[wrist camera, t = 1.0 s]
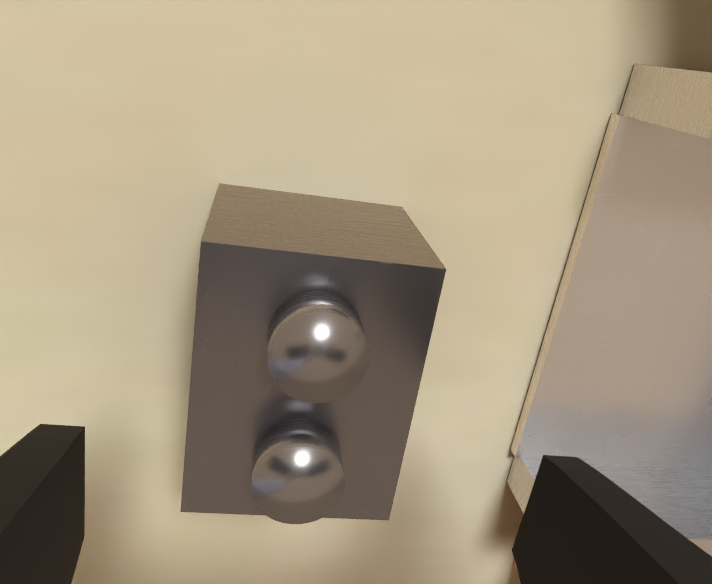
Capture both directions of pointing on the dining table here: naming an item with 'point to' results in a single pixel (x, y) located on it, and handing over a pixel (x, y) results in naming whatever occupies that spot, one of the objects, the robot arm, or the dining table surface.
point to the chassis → (636, 313)
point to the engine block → (305, 355)
